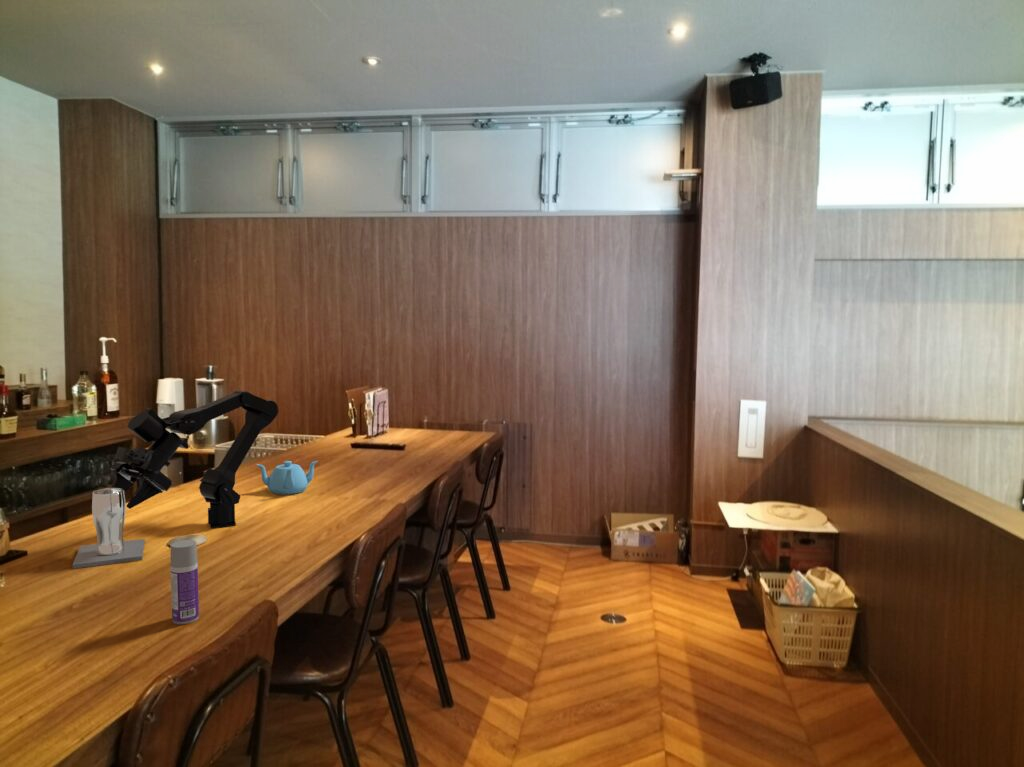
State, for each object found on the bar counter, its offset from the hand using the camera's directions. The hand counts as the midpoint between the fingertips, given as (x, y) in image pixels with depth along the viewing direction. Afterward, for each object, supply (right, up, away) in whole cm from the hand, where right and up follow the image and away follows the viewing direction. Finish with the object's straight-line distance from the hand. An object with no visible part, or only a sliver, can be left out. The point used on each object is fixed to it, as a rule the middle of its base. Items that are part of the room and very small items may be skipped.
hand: (117, 504), depth 163 cm
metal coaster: (+13, -11, +10) cm, 20 cm away
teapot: (+21, -7, +62) cm, 66 cm away
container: (+34, -16, -34) cm, 51 cm away
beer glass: (-1, -11, -1) cm, 11 cm away
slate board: (-1, -12, -1) cm, 12 cm away
